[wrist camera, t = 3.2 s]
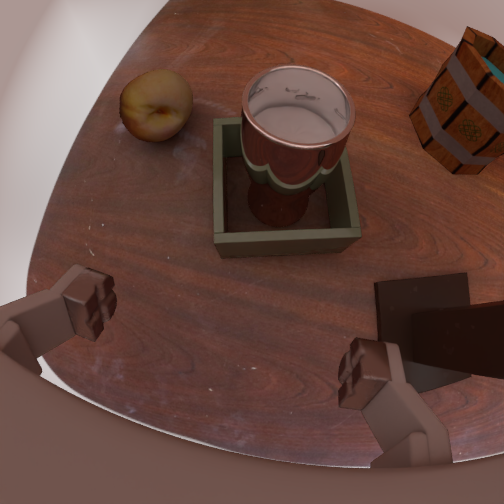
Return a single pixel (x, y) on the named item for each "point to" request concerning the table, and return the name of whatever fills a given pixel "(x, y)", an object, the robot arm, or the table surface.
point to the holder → (281, 241)
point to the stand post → (440, 330)
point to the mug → (465, 106)
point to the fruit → (156, 105)
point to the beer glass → (291, 138)
